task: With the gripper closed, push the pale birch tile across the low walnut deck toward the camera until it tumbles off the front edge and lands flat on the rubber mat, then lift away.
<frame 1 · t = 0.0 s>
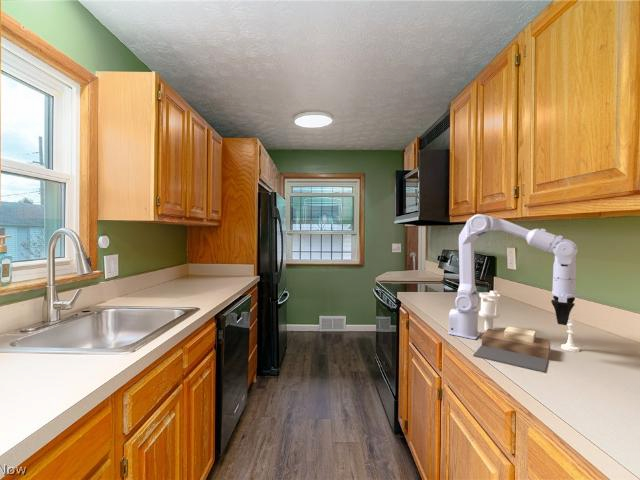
hand: (562, 321, 102), 10 cm above the table, tool pointing down, fingers open, 7 cm apart
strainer: (488, 330, 126), on the table
walnut deck: (515, 348, 106), on the table
birch tile: (519, 337, 106), point 3 cm above the table, touching walnut deck
rubber mat: (509, 358, 98), on the table
chess piece: (570, 349, 106), on the table
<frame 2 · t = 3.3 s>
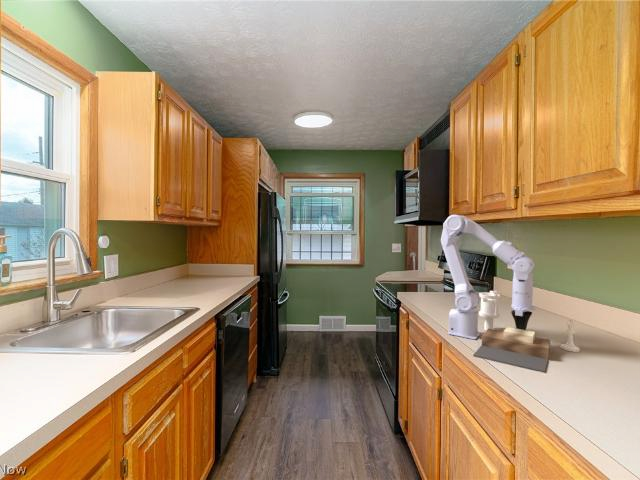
hand: (521, 333, 109), 4 cm above the table, tool pointing down, fingers closed
birch tile: (519, 338, 106), point 4 cm above the table
everything else where it was.
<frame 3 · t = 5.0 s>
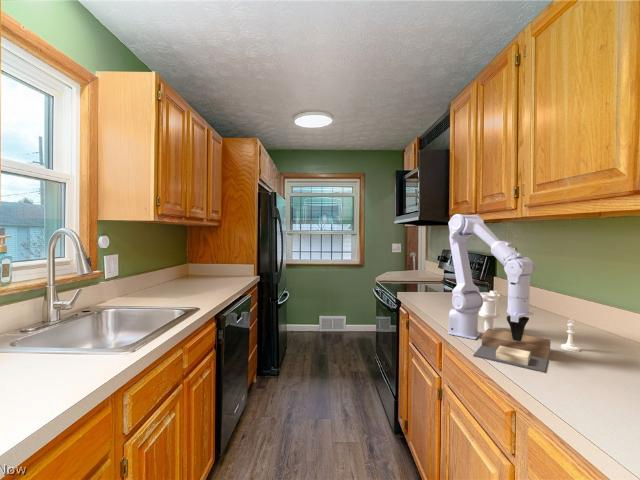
hand: (517, 340, 102), 4 cm above the table, tool pointing down, fingers closed
birch tile: (513, 351, 96), point 3 cm above the table, tilted 180°, touching rubber mat
everything else where it was.
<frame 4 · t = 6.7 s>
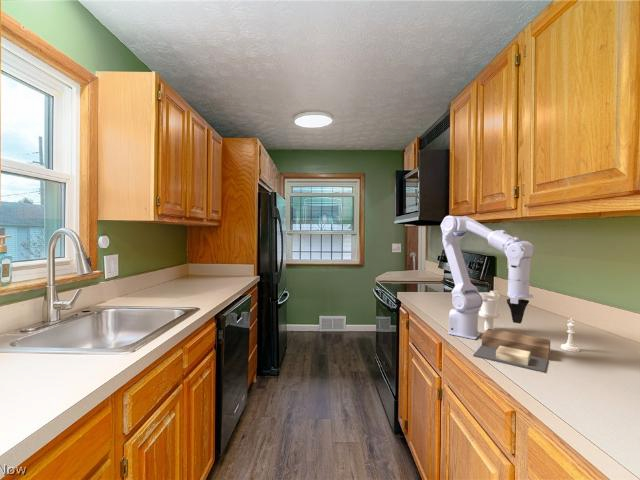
hand: (517, 322, 103), 9 cm above the table, tool pointing down, fingers closed
nothing on the table moved.
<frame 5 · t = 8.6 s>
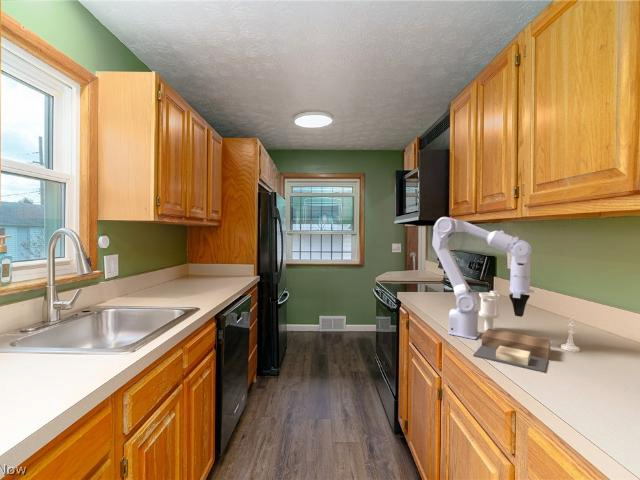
hand: (518, 315, 111), 9 cm above the table, tool pointing down, fingers closed
nothing on the table moved.
at the end: birch tile inside the target area (1.1 cm from its centre), point 2.6 cm above the table; birch tile touching rubber mat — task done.
